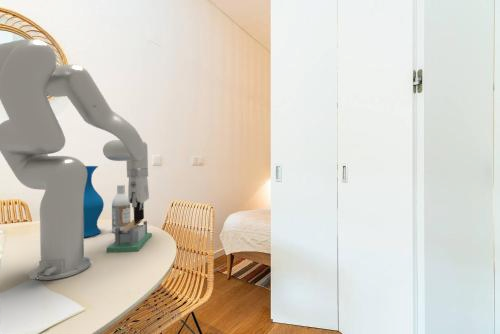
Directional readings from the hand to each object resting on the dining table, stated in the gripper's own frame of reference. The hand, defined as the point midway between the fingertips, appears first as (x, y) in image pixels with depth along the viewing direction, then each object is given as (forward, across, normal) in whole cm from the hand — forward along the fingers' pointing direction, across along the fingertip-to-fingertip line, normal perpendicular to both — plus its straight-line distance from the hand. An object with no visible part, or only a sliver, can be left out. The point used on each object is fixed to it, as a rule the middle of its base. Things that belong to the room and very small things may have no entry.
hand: (139, 219), depth 95 cm
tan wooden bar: (+1, -7, +1) cm, 7 cm away
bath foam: (+8, +10, +10) cm, 16 cm away
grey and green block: (+7, -7, +1) cm, 10 cm away
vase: (+7, +6, +22) cm, 24 cm away
